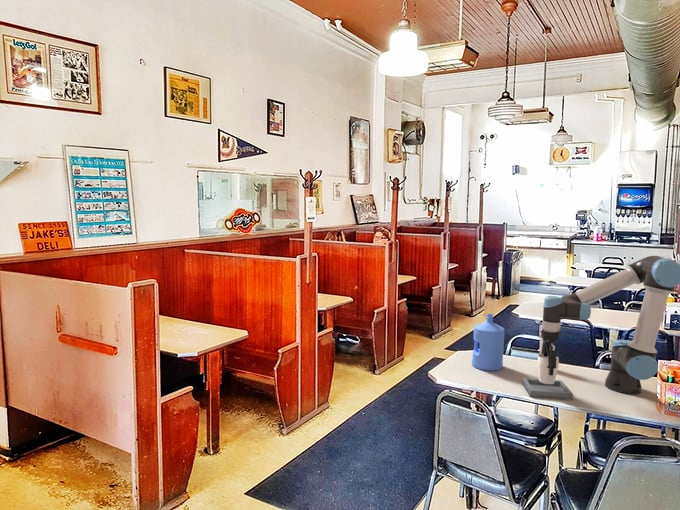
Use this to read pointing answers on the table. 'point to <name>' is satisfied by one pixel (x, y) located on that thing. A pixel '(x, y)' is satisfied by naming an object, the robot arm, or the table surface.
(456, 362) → the table surface
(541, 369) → the cup
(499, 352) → the water jug
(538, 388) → the tray
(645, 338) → the robot arm
